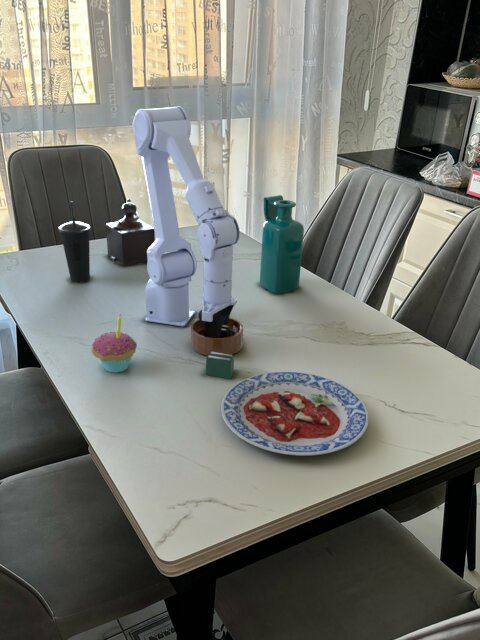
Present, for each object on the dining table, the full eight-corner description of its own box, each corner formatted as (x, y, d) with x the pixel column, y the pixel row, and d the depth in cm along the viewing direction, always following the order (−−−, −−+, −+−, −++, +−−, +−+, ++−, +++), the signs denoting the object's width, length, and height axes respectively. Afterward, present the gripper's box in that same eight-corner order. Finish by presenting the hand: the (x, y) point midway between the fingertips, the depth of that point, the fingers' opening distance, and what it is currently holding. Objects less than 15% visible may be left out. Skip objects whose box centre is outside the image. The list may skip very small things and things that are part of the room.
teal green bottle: (301, 288, 157) (310, 203, 144) (276, 295, 152) (282, 207, 140) (278, 276, 163) (284, 193, 151) (253, 282, 159) (257, 197, 147)
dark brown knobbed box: (104, 256, 172) (98, 191, 162) (139, 249, 178) (135, 186, 168) (129, 273, 162) (125, 205, 152) (165, 266, 167) (163, 200, 157)
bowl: (183, 353, 126) (183, 334, 123) (200, 331, 135) (200, 312, 132) (234, 362, 123) (235, 342, 121) (247, 338, 132) (248, 319, 130)
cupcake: (144, 361, 122) (141, 307, 116) (124, 381, 116) (120, 325, 109) (107, 353, 125) (101, 299, 118) (85, 373, 118) (78, 317, 111)
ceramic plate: (259, 480, 93) (260, 465, 91) (199, 395, 112) (199, 382, 111) (396, 444, 102) (399, 429, 100) (319, 371, 121) (321, 358, 120)
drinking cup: (101, 277, 159) (94, 200, 148) (80, 287, 153) (71, 207, 142) (80, 271, 162) (71, 195, 151) (59, 280, 156) (48, 201, 145)
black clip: (204, 344, 128) (204, 326, 126) (207, 339, 130) (207, 321, 128) (226, 348, 127) (227, 330, 125) (229, 343, 129) (230, 325, 127)
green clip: (205, 374, 119) (206, 356, 116) (209, 368, 121) (209, 350, 118) (230, 379, 118) (230, 360, 115) (233, 372, 120) (234, 354, 117)
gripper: (226, 294, 114) (225, 356, 121) (246, 267, 126) (243, 326, 133) (191, 289, 115) (192, 351, 123) (213, 263, 127) (213, 322, 134)
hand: (216, 338), depth 128 cm, fingers open, 4 cm apart
